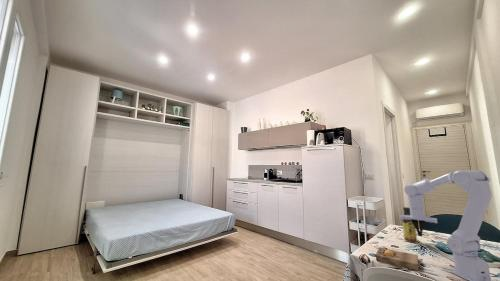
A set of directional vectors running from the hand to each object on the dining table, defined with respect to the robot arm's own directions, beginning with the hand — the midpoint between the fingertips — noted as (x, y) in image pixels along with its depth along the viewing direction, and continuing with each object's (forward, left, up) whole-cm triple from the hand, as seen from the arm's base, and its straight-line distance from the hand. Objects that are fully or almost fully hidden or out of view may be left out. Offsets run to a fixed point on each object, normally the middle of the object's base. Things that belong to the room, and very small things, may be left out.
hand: (420, 235), depth 102 cm
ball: (+1, +17, -8) cm, 19 cm away
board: (-1, +15, -10) cm, 18 cm away
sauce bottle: (+22, -14, -11) cm, 28 cm away
